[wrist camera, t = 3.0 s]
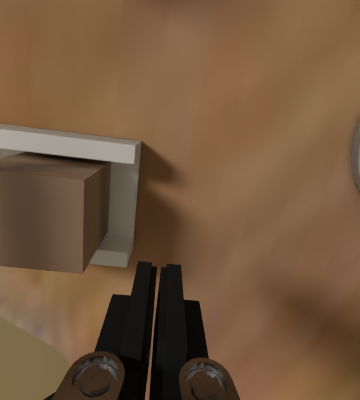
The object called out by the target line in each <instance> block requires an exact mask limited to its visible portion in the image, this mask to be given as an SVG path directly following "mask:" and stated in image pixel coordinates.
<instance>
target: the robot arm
mask: <svg viewBox="0 0 360 400" xmlns="http://www.w3.org/2000/svg"><path fill="white" fill-rule="evenodd" d="M352 171H353V176H354V180H355V183H356V185H357V187H358V189H359V192H360V123H359V125H358V128H357V131H356V134H355V137H354V142H353V148H352ZM156 273H157V267H154V266H152V263H151V262H140V261H138V265H137V269H136V274H135V279H134V283H133V288H132V293H131V296H129V295H116V294H113V295H112V298H111V301H110V304H109V307H108V310H107V314H106V317H105V320H104V323H103V326H102V329H101V332H100V336H99V339H98V342H97V345H96V348H95V351H94V352H92V353H89V354H86V355H84V356H82V357H80V358H79V359H78V360H77V361H75V362H74V363H73V365H72V366H71V367H70V369H69V370H68V372H67V373H66V375H65V377H64V379H63V380H62V382H61V384H60V386H59V387H58V389H57V391H56V392H55V393H53V394H52V395H50V396H49V397H47V398H45V399H44V400H145V392H146V383H147V375H148V366H149V357H150V348H151V337H152V324H153V312H154V299H155V286H156ZM149 400H240V398H239V395H238V393H237V390H236V388H235V385H234V383H233V380H232V378H231V376H230V374H229V373H228V371H227V370H226V369H225V368H224V367H223V366H222V365H221V364H219V363H218V362H216V361H214V360H211V359H209V357H208V351H207V345H206V339H205V333H204V327H203V321H202V315H201V309H200V304H199V301H193V300H184V297H183V285H182V273H181V265H174V264H167V267H166V268H165V267H161V274H160V283H159V291H158V300H157V308H156V317H155V326H154V338H153V353H152V367H151V381H150V396H149Z"/></svg>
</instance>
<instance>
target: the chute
mask: <svg viewBox="0 0 360 400" xmlns="http://www.w3.org/2000/svg"><path fill="white" fill-rule="evenodd" d="M141 142H142V141H137V140H129V139H121V138H113V137H105V136H97V135H89V134H81V133H73V132H64V131H56V130H48V129H40V128H32V127H24V126H16V125H8V124H0V158H3V157H7V156H11V155H15V154H19V153H24V152H35V153H43V154H52V155H60V156H68V157H77V158H85V159H94V160H102V161H110V162H111V172H110V194H109V215H108V232H107V233H106V235H105V237H104V238H103V240H102V242H101V244H100V245H99V247H98V249H97V250H96V252H95V254H94V255H93V257H92V259H91V260H90V262H89V264H95V265H105V266H115V267H126V268H127V265H128V262H129V259H130V255H131V252H132V249H133V243H134V231H135V218H136V205H137V193H138V180H139V167H140V155H141Z"/></svg>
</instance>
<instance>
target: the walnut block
mask: <svg viewBox="0 0 360 400" xmlns="http://www.w3.org/2000/svg"><path fill="white" fill-rule="evenodd" d="M110 172H111V162H110V161H102V160H94V159H85V158H77V157H68V156H60V155H52V154H43V153H35V152H24V153H19V154H15V155H11V156H7V157H3V158H0V266H7V267H17V268H27V269H38V270H48V271H58V272H68V273H79V274H83V272H84V271H85V269H86V267H87V266H88V264H89V262H90V260H91V259H92V257H93V255H94V254H95V252H96V250H97V249H98V247H99V245H100V244H101V242H102V240H103V238H104V237H105V235H106V233H107V232H108V215H109V194H110Z"/></svg>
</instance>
